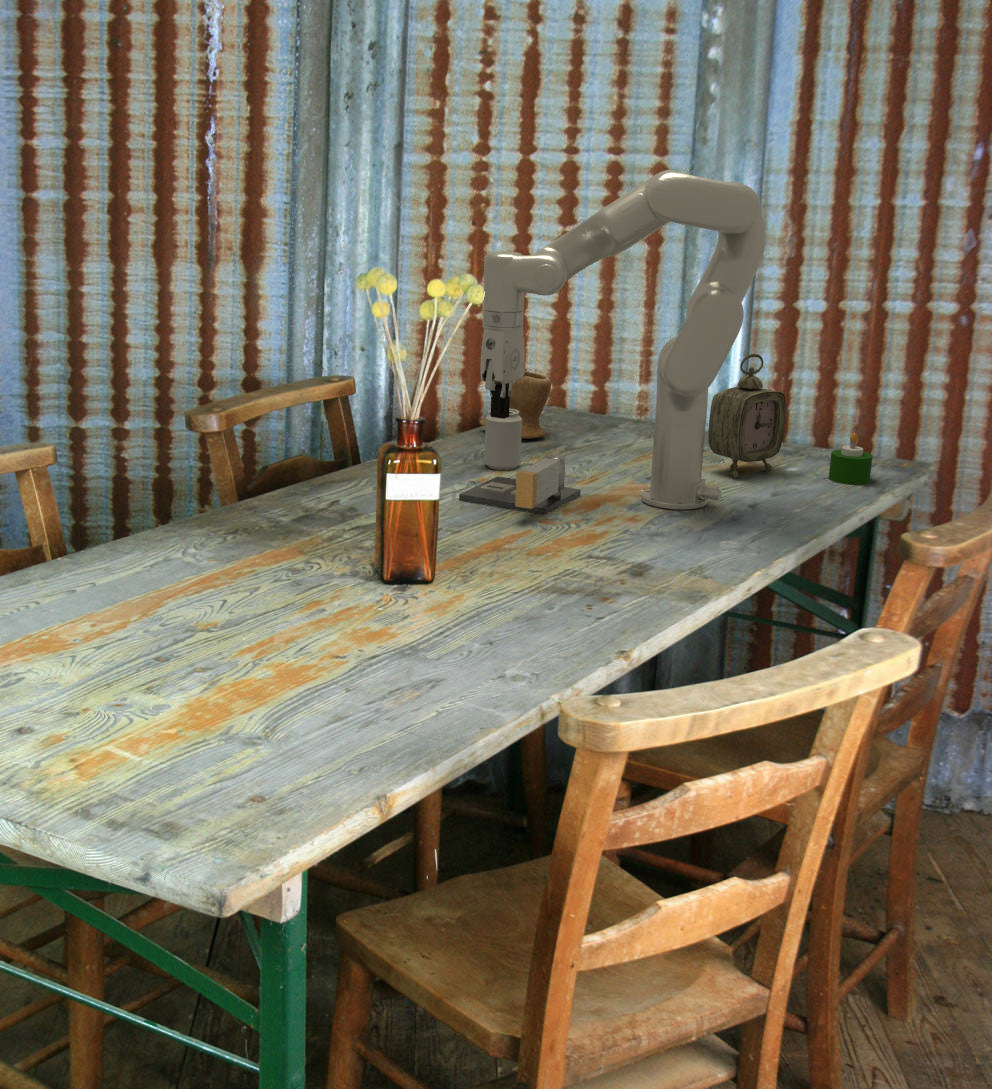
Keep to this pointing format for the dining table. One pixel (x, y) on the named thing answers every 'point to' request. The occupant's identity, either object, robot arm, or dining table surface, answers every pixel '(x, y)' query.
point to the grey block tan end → (540, 481)
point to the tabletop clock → (747, 421)
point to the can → (503, 441)
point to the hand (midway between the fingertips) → (499, 417)
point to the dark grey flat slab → (514, 496)
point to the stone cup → (529, 402)
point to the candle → (850, 464)
